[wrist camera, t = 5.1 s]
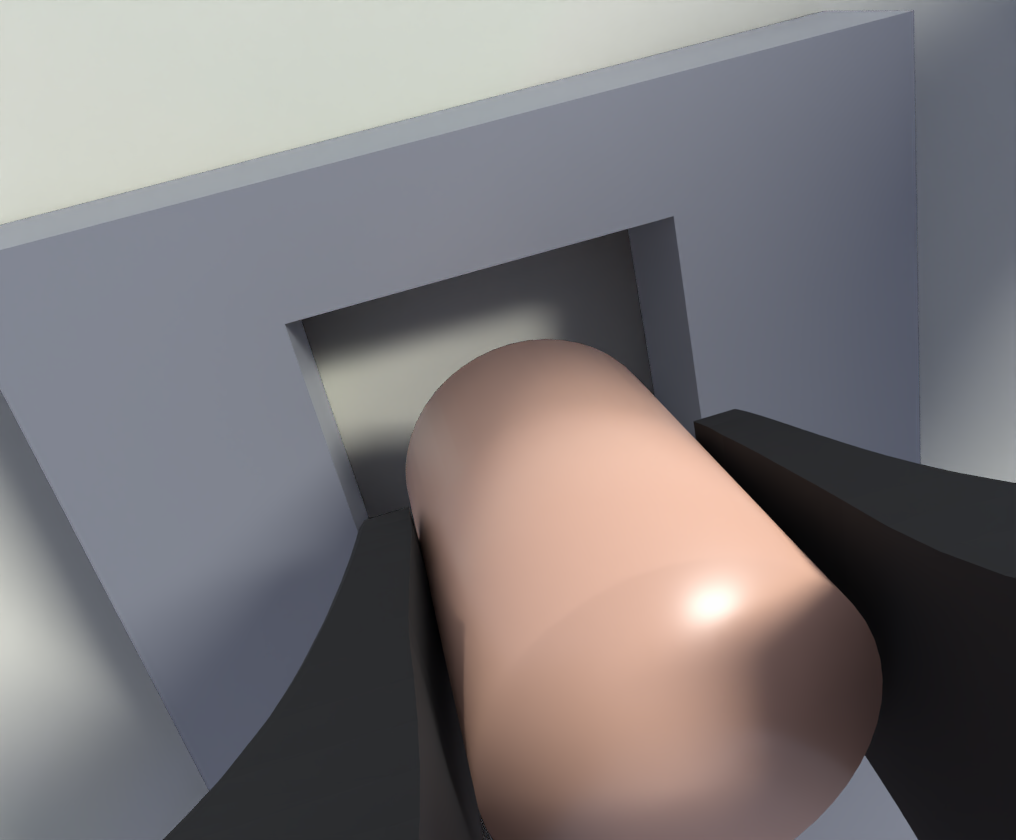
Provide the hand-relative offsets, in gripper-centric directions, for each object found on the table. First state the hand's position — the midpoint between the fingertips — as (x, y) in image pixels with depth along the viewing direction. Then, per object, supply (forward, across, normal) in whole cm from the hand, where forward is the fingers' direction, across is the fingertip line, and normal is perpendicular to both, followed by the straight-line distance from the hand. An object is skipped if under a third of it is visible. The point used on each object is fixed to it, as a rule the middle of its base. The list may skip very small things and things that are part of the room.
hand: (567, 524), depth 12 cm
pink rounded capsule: (+2, 0, 0) cm, 2 cm away
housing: (+5, 0, +5) cm, 7 cm away
